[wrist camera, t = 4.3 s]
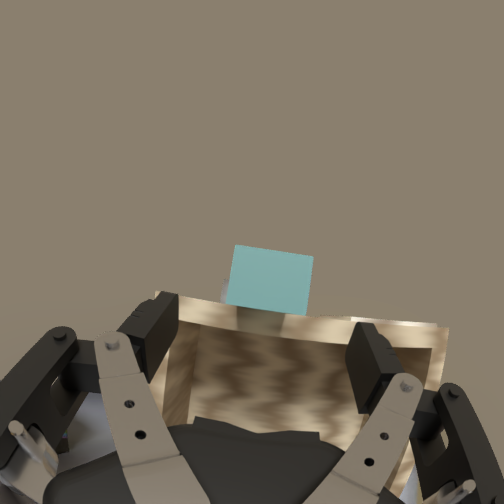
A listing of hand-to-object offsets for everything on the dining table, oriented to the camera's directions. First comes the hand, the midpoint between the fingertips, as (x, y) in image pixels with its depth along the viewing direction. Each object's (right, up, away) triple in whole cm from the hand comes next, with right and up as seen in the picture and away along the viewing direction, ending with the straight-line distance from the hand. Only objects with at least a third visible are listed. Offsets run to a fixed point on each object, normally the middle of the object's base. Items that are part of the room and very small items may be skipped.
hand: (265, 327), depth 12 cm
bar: (0, -2, +12) cm, 13 cm away
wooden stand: (0, -34, +11) cm, 36 cm away
